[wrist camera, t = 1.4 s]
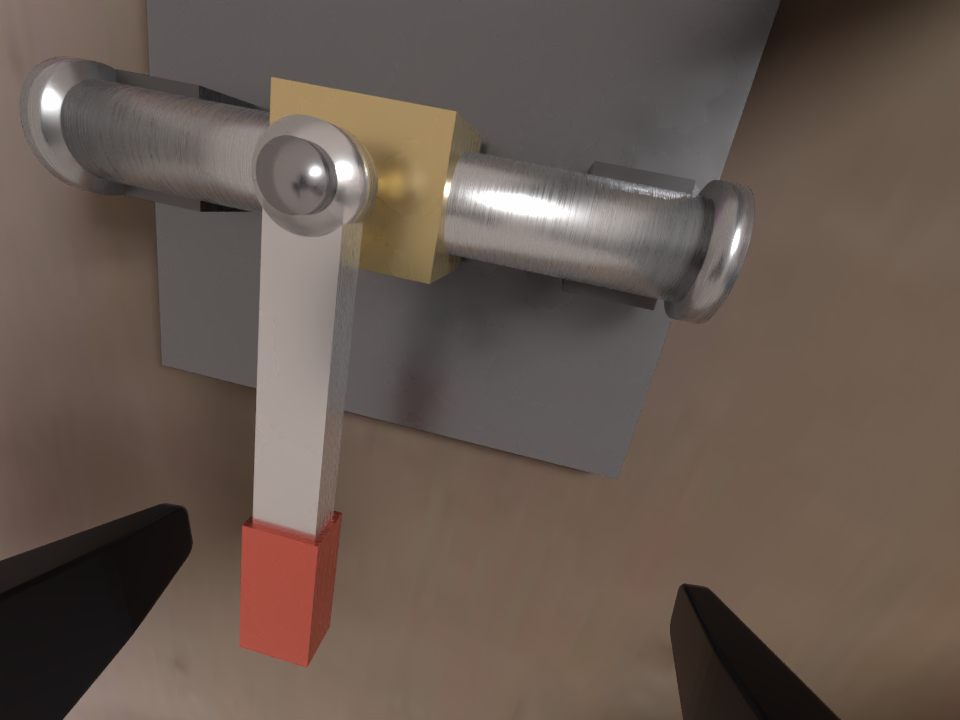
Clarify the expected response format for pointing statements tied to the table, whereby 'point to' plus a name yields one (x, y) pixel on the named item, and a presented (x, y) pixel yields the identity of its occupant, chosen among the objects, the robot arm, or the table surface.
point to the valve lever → (301, 377)
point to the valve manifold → (443, 192)
